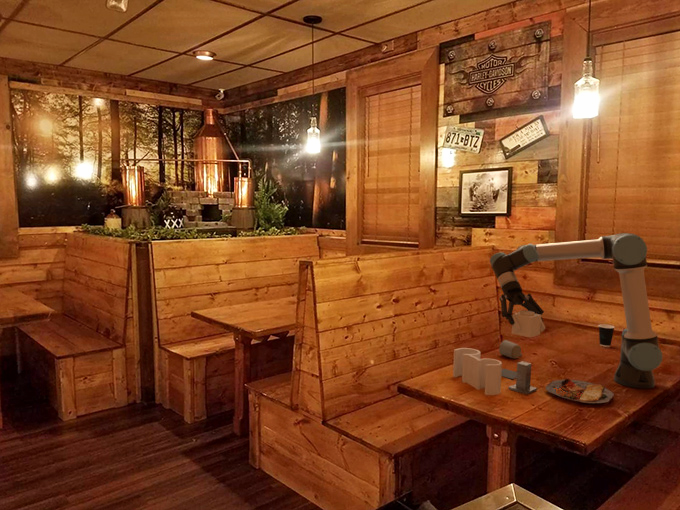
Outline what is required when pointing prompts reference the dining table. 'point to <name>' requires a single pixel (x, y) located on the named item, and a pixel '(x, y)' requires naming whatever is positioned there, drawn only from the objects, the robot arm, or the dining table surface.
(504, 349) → the ceramic mug
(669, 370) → the dining table surface
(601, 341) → the dixie cup
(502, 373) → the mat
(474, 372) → the bracket
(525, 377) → the post
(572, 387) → the food plate
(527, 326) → the beige block piece
